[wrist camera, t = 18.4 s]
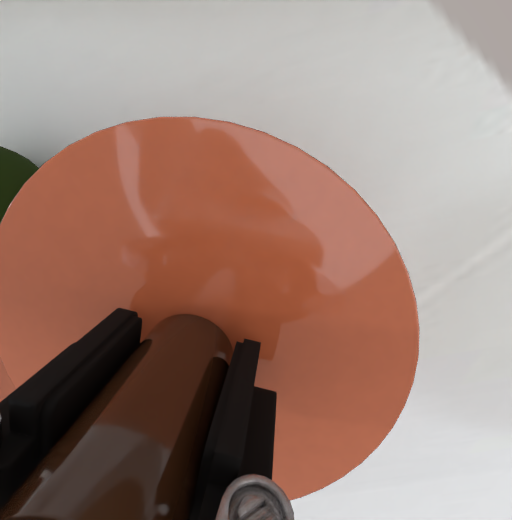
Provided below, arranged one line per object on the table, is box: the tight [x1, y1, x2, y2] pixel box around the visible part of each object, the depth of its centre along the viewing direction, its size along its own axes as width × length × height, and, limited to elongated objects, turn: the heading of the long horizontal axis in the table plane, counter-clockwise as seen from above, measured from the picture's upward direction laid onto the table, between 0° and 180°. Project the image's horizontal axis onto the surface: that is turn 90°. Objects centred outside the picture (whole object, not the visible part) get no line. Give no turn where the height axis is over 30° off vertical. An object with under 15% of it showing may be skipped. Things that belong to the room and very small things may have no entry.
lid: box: [0, 117, 419, 520], centre depth 8 cm, size 15×15×7 cm
